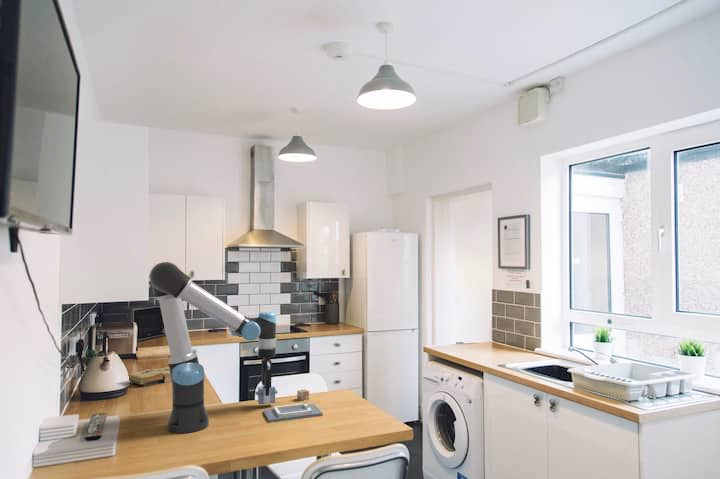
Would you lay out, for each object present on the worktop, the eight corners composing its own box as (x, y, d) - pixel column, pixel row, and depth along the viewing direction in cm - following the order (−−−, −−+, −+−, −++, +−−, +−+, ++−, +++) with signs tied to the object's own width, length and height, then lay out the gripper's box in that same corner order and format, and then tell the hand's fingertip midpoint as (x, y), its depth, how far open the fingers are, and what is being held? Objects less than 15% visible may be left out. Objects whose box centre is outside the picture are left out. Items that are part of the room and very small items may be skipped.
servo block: (256, 404, 213) (256, 387, 214) (255, 402, 217) (255, 385, 218) (277, 402, 217) (277, 385, 217) (275, 400, 220) (276, 383, 221)
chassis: (268, 422, 195) (268, 416, 195) (263, 412, 208) (263, 406, 209) (322, 415, 203) (322, 410, 203) (314, 406, 216) (313, 401, 216)
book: (171, 375, 281) (171, 364, 281) (186, 379, 270) (185, 368, 270) (126, 383, 262) (126, 372, 262) (140, 389, 251) (140, 377, 251)
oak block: (301, 401, 224) (301, 392, 224) (297, 399, 227) (297, 390, 227) (309, 400, 226) (309, 391, 226) (305, 398, 229) (304, 389, 229)
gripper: (278, 350, 211) (277, 406, 210) (272, 344, 227) (271, 395, 226) (261, 351, 209) (260, 407, 208) (255, 345, 225) (254, 397, 224)
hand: (265, 401), depth 217 cm, fingers closed on servo block, 4 cm apart
